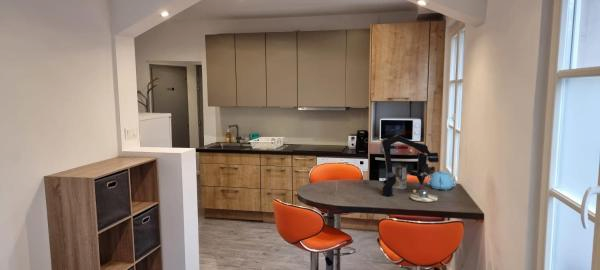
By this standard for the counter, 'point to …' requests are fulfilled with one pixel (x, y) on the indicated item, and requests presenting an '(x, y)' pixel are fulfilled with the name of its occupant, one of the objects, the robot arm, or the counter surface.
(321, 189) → the counter surface
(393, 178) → the robot arm
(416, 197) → the turntable
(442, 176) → the decorative pot
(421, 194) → the cover
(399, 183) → the coffee box
